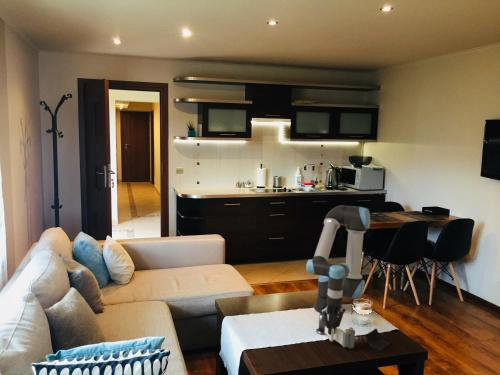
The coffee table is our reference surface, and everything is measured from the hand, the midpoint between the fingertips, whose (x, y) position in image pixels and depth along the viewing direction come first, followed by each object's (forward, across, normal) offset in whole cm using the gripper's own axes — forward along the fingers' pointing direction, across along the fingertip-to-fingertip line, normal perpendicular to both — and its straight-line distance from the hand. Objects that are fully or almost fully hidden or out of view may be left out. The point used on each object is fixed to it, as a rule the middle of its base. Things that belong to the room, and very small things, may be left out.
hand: (330, 339), depth 213 cm
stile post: (+2, +8, -5) cm, 10 cm away
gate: (+1, +4, +1) cm, 4 cm away
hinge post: (+2, +1, +12) cm, 12 cm away
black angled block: (+2, +24, -6) cm, 25 cm away
